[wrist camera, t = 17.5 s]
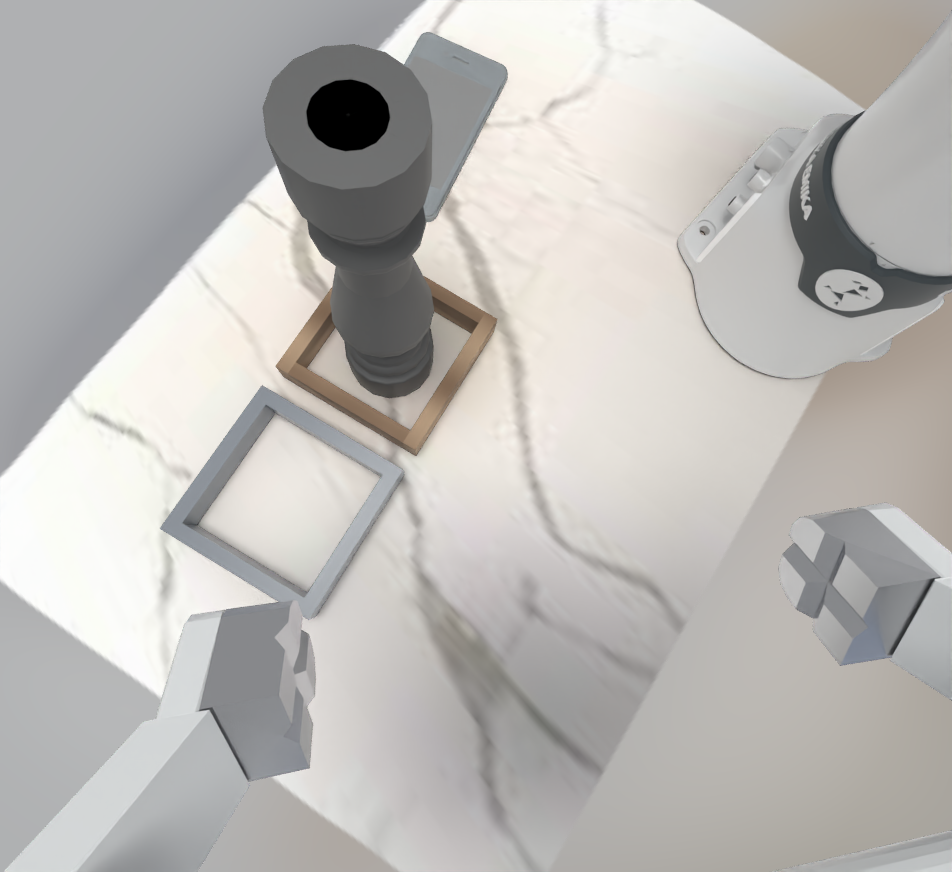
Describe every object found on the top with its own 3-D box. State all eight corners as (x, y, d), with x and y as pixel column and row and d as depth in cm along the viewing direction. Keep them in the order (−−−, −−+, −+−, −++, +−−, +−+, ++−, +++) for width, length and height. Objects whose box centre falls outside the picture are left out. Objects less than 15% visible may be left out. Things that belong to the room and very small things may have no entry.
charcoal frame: (271, 394, 43) (261, 385, 41) (404, 474, 43) (403, 469, 40) (175, 530, 41) (159, 528, 38) (315, 616, 40) (308, 619, 38)
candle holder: (332, 355, 44) (215, 103, 20) (395, 304, 45) (357, 7, 21) (388, 414, 43) (338, 231, 19) (449, 361, 45) (476, 125, 20)
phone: (339, 187, 47) (337, 177, 46) (423, 40, 51) (423, 27, 50) (431, 229, 47) (432, 219, 46) (509, 79, 51) (511, 67, 50)
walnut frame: (368, 258, 46) (364, 241, 43) (493, 332, 45) (497, 319, 43) (283, 377, 43) (275, 366, 41) (416, 456, 43) (415, 450, 40)
